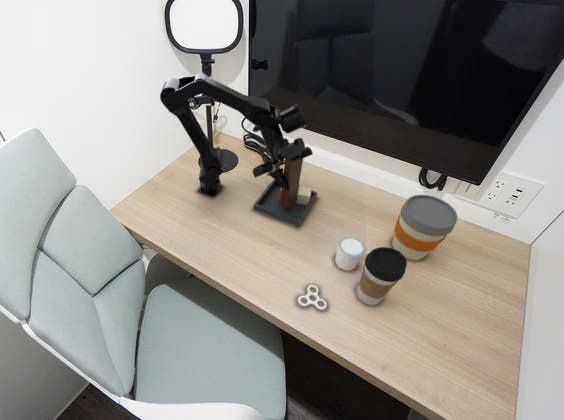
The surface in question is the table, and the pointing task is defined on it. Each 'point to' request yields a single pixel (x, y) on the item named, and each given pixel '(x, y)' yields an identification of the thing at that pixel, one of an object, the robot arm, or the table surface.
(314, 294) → the fidget spinner
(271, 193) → the tray
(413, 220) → the reusable coffee cup
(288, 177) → the brown square post
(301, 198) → the cream block
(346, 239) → the white short cylinder
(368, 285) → the coffee cup
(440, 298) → the table surface
